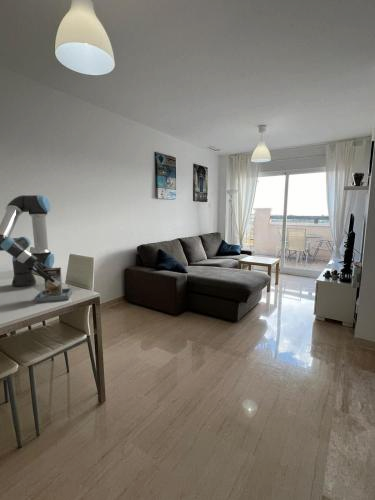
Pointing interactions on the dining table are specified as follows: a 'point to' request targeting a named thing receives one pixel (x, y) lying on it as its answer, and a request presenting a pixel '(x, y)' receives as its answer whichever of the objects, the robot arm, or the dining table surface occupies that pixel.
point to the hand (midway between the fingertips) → (59, 283)
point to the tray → (53, 296)
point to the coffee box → (50, 287)
